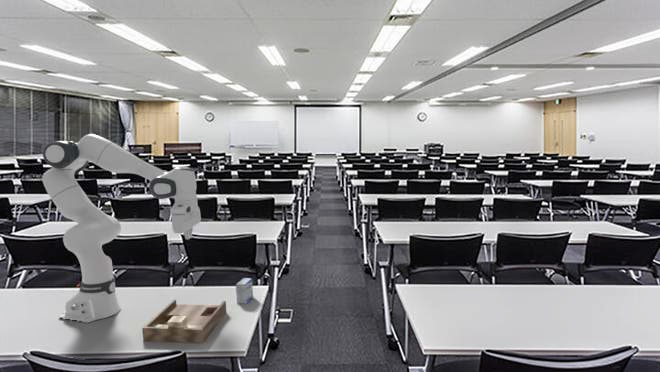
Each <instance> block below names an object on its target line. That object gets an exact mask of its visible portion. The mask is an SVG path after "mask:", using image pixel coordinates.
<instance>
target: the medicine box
mask: <svg viewBox="0 0 660 372" xmlns="http://www.w3.org/2000/svg"><path fill="white" fill-rule="evenodd" d="M253 288H254V287H253V278H249V277H243V278H242V279H240V280H239V281H238V282H237V283H236V284H235V292H236V294H235V295H236V303H237V304H244V305H247V303H248V302H249V301H250V300H251V299H252V298H253V297H254V292H253V291H254V289H253Z"/></svg>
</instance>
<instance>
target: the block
mask: <svg viewBox="0 0 660 372" xmlns="http://www.w3.org/2000/svg"><path fill="white" fill-rule="evenodd" d="M167 324H168V327H172V328H187V316H173V317H172V318H171V319H170V320H169V321H168V322H167Z"/></svg>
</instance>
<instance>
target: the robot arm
mask: <svg viewBox="0 0 660 372" xmlns="http://www.w3.org/2000/svg"><path fill="white" fill-rule="evenodd" d="M42 157H43V159H44V162H45V163H46V164H48V165H49V166H50V167H51V168H50V169H47V170H46V171H45V172H44V173H43V175H42V177H41V178H42V179H41V181H42V183H43V186H44V188H45V191H46V193H47V194H48V196H49V198H50V199H51V200H52V202H53V203H54V205H55V206H56V208H57V209H58V211H59V212H60V214H61V216H62V217H64V218H66V219H69V220H72V221H73V222H75V223H76V224H75V225H73V226H72V227H70V228H68V229H67V230H66V231H65V232H64V233H63V237H62V241H63V244H64V247H65V248H66V249H67V251H69V252H72V253H73V254H74V255H75V256H76V258H77V259H78V262H79V264H80V270H81V271H80V272H81V277H82V281H79V283H78V284H76V288H79V290H78V291H77V292H76V293H74V294H73V295H72V296H71V297H69V299H68V300H67V301H66V304H65V309H64V310H63V311H62V312H61V313H60V314H59V316H58V317H59V319H60V318H64V319H63V320H65V319H70V320H69V321H72V320H77V321H76V322H79V321H82V322H81V323H91V322H94V321H96V320H101V319H105V318H109V317H111V316H113V315H116V314H118V313H119V312H120V311H121V309H122V308H121V306H120V303H119V302H118V301H119V300H118V298H117V293H116V280H115V276H114V272H113V262H112V261H113V260H112V258H111V257H110V256H108V255H106V254H105V253H104V251H103V248H102V247H103V245H105V244H108V243H110V242H112V241H113V240H114V239H116V238H117V237H118V236H119V235H120V233H121V232H122V231H121V230H122V226H121V223H120V221H119V220H118V219H117V218H116V217H114V216H112V215H108V214H107V213H105V212H104V211H102V210H101V209H100V208H98V206H96V205H95V204H94V203H93V202H92V201H91V200H90V198H89V197H88V196H87V194H86V192H85V191H84V190H83V188H82V186H80V184H79V183H78V181H77V180H76V178H75V175H79V174H80V172H81V171H82V170H83V169H85V168H86V167H87V166H88V164H89V162H91V163H92V164H95V165H96V166H98V167H99V168H101V169H103V170H105V171H109V172H110V173H113V174H134V175H138V176H141V177H142V178H145V179H147V180H148V181H150V182H149V185H148V186H149V187H148V188H149V193H150V194H151V196H152V197H154V198H155V199H158V200H166V199H169V198H174V204H173V205H172V207H171V208H170V210H169V212H170V215H172V216H171V226H172V231H173V233H174V234H183V235H184V238H185V240H190V239H192V238H193V231H194V227H195V226H197V225H199V224H200V223H201V220H202V217H201V215H202V214H201V209H200V206H198V205H199V204H198V195H197V178H196V174H195V171H194V170H193V169H192V168H191V167H187V166H175V167H174V168H173V169H172V170H170V171H167V170H164V169H162V168H159V167H157V166H155V165H154V164H152V163H149V162H147V161H146V160H144V159H141V158H139V157H138V156H136V155H135V154H133V153H131V152H129V151H128V150H126V149H125V148H123V147H122V146H121V145H118V144H117V143H115V142H113V141H111V140H109V139H107V138H105V137H102V136H100V135H96V134H94V133H88V134H86V135H84V136H83V137H81V138H80V139H79V141H78V142H74V140H73V141H72V140H71V141H70V140H69V141H68V140H57V141H52V142H50V143H47V145H45V147H44V148H43V151H42Z"/></svg>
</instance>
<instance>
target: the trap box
mask: <svg viewBox="0 0 660 372" xmlns="http://www.w3.org/2000/svg"><path fill="white" fill-rule="evenodd" d="M226 302H227V301H226V300H222V301H221V303H220V304H219V305H218V304H217V305H216V304H213V305H212V304H177V299H173V300H171V301H170V302H169V303H168V304H167V305H166V306H165V307H164V308H163V309H161V311H159V312H158V313H157V314H156V315H155V316H154V317H153V318H152V319H150V320H149V321H148V322H147V323H146V324H144V326H142V328H141V330H142V340H143V342H153V343H155V342H156V343H157V342H160V343H183V344H184V343H186V344H187V343H191V344H204V343H205V342H206V340H207V339H208V337H209V336H210V334H211V333H212V332H213V331H214V329H215V328H216V326H218V325H219V323H220V321H221V320H222V319H223V318H224V316H225V315H226V314H227V303H226ZM173 316H187V328H172V327H168V324H167V322H168V321H169V320H170V319H171V318H172V317H173Z"/></svg>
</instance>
